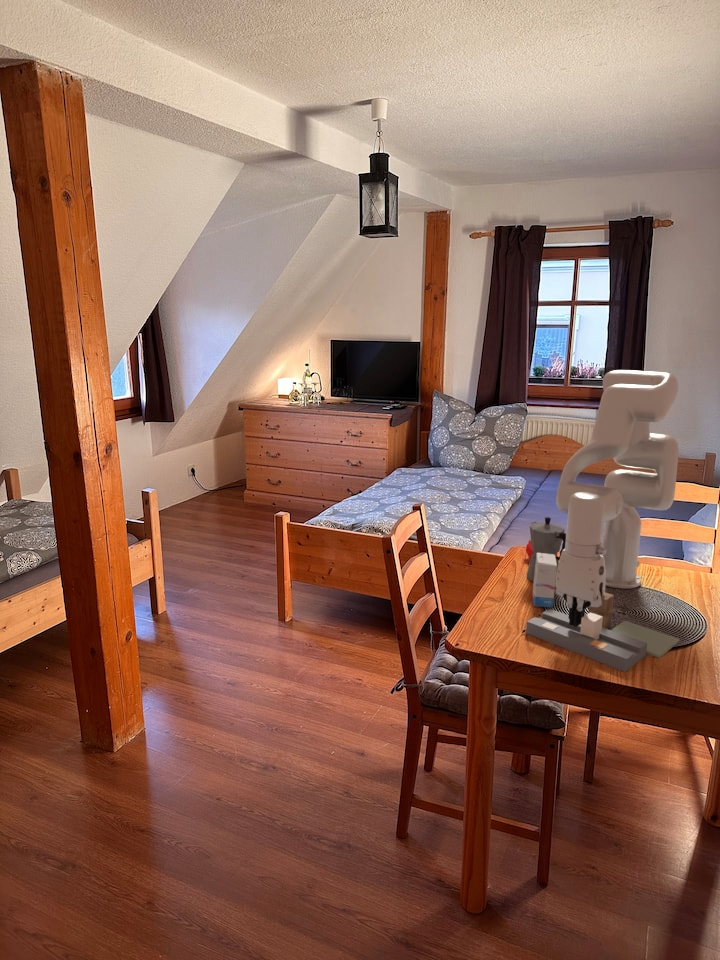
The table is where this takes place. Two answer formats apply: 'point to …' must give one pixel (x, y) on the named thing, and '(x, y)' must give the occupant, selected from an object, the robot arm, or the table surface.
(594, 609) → the brown block
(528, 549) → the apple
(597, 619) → the switch tab
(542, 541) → the coffeepot
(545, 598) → the ink box
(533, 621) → the switch panel
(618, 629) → the mat
